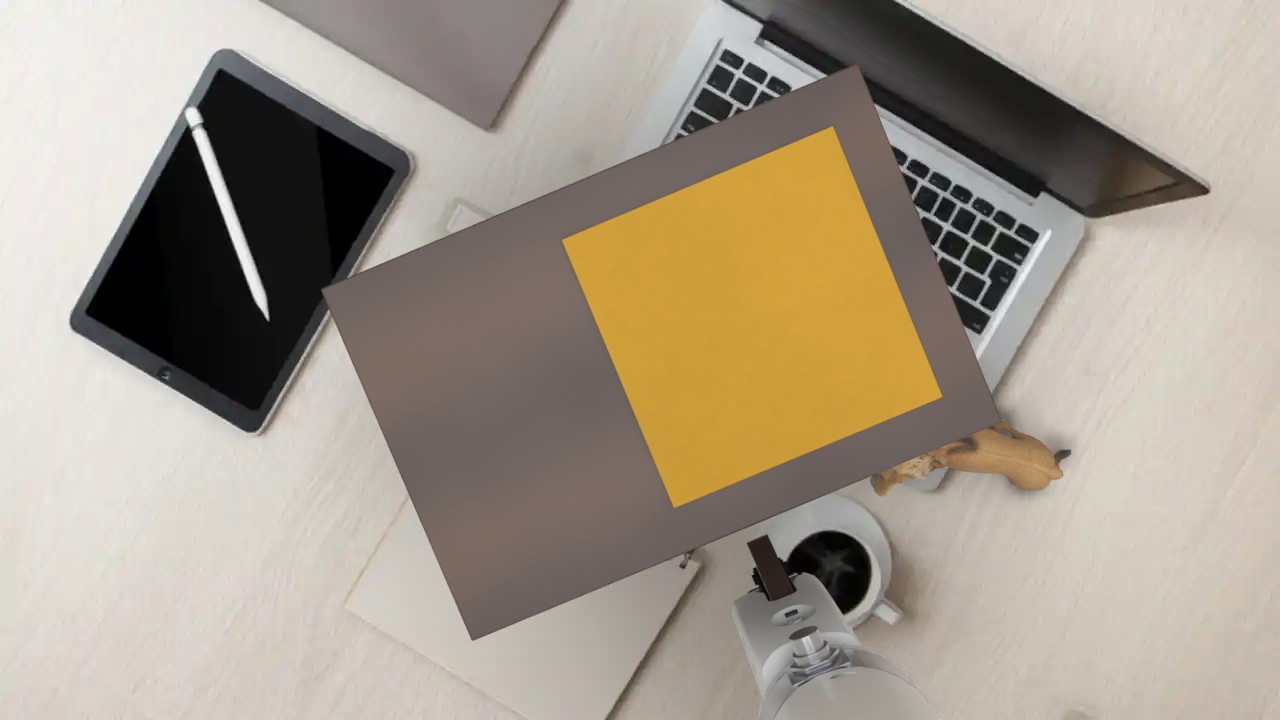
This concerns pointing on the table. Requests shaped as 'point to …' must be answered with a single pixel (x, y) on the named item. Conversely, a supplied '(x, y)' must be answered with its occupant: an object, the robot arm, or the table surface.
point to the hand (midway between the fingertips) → (792, 631)
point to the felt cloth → (752, 317)
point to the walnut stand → (607, 375)
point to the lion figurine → (984, 460)
